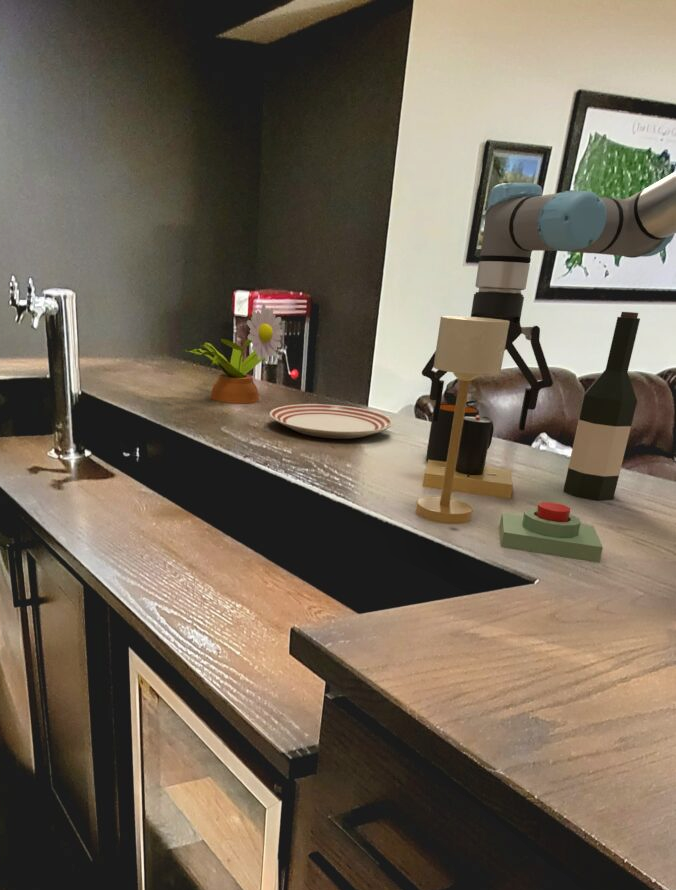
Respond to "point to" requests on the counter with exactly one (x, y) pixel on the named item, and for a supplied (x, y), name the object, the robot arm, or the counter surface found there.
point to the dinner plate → (331, 420)
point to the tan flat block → (471, 480)
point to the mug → (446, 431)
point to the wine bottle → (605, 421)
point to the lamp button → (553, 512)
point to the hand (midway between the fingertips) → (477, 424)
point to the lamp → (462, 395)
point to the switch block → (550, 536)
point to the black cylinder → (473, 445)
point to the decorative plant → (234, 381)
